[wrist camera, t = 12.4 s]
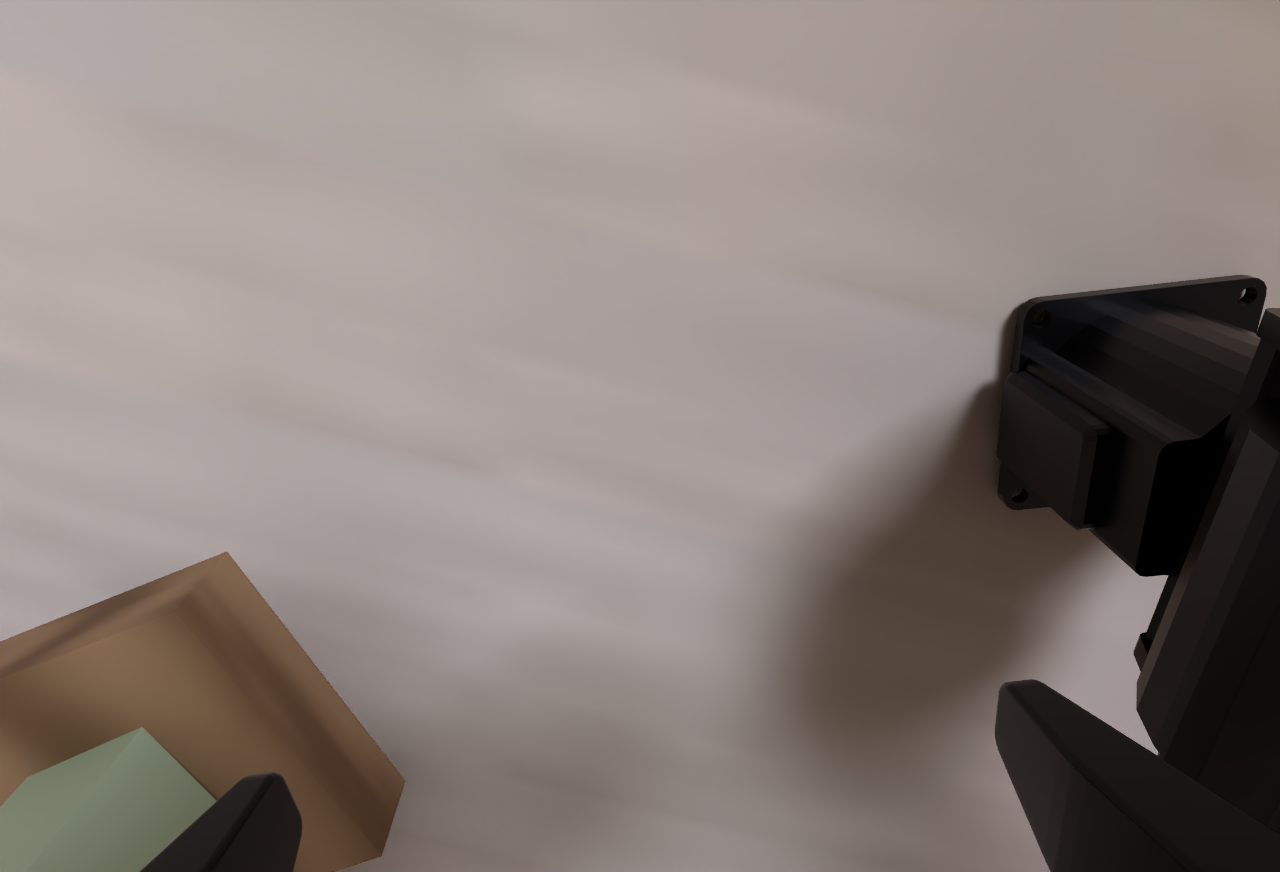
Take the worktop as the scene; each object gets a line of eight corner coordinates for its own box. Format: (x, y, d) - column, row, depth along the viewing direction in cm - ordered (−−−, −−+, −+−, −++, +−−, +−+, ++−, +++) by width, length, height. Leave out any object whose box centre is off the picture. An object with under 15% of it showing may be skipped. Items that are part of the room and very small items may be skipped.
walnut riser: (234, 542, 23) (174, 611, 20) (408, 769, 28) (381, 856, 25) (-40, 652, 25) (-137, 732, 22) (165, 851, 29) (109, 943, 26)
